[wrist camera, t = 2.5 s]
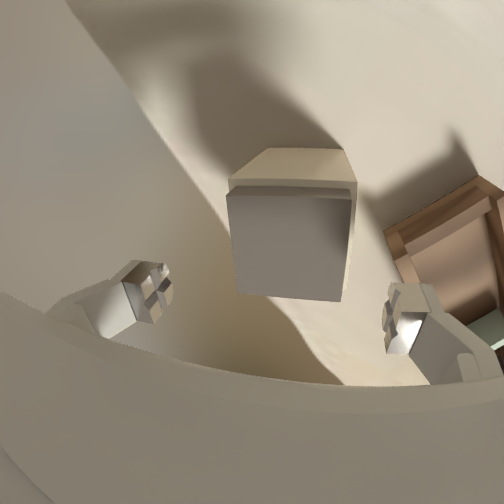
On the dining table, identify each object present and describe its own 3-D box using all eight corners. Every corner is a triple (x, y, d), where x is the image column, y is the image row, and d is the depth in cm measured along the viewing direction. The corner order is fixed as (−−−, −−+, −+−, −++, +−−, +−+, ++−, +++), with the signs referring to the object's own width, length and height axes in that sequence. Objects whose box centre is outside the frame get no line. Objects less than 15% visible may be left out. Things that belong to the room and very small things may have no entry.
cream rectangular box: (267, 147, 17) (216, 187, 10) (343, 149, 16) (361, 191, 8) (271, 216, 20) (232, 297, 12) (341, 219, 18) (346, 307, 11)
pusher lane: (383, 231, 18) (400, 280, 13) (478, 175, 13) (523, 206, 8) (444, 379, 24) (450, 420, 19) (504, 349, 20) (517, 387, 15)
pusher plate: (443, 337, 19) (451, 366, 17) (498, 307, 16) (511, 333, 13) (445, 343, 20) (452, 371, 17) (498, 314, 17) (511, 340, 14)
